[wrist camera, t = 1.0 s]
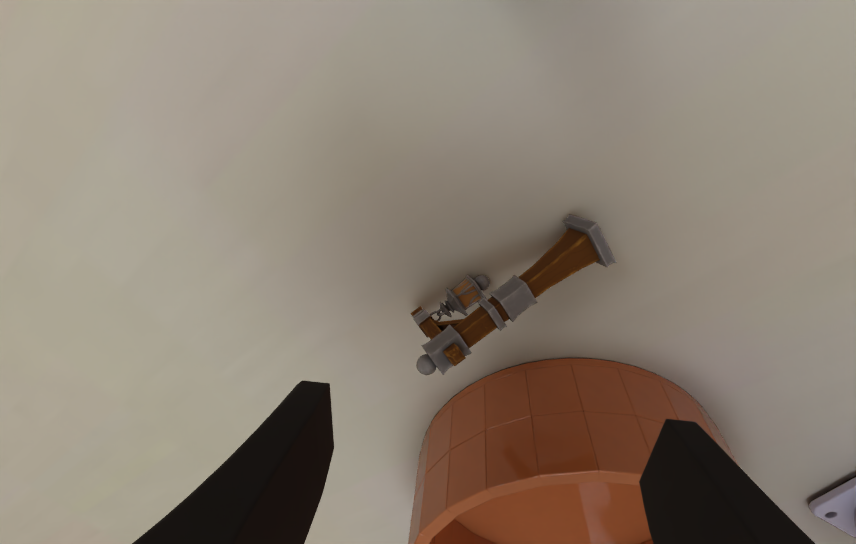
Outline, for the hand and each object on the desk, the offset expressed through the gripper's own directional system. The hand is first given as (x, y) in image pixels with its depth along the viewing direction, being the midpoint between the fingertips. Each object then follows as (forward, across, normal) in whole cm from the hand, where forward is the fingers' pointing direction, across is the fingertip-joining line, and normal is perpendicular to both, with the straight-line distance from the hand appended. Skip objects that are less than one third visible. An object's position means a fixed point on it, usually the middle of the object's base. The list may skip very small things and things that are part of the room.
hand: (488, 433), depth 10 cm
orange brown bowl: (+10, -6, +13) cm, 17 cm away
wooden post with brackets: (+10, -1, +1) cm, 10 cm away
